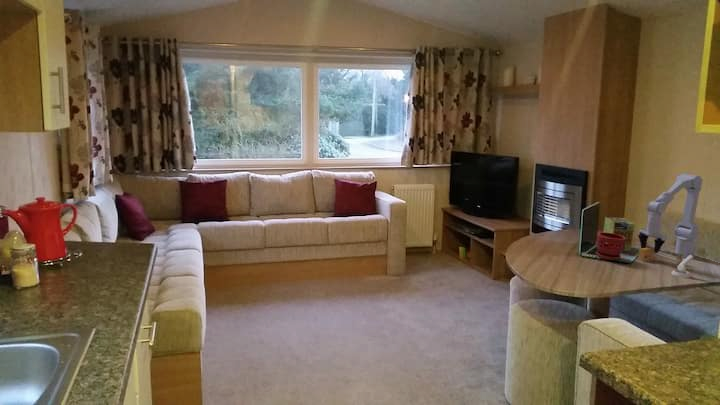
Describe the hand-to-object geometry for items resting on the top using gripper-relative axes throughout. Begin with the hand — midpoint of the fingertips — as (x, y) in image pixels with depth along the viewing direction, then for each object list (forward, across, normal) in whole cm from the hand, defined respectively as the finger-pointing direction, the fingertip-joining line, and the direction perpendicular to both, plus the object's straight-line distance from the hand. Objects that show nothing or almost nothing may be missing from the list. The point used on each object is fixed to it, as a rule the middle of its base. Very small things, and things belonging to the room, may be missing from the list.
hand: (649, 250), depth 273 cm
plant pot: (+5, -8, -19) cm, 21 cm away
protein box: (+5, -22, +2) cm, 23 cm away
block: (+5, 0, -2) cm, 5 cm away
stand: (+5, 0, +9) cm, 10 cm away
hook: (+5, +23, -7) cm, 25 cm away
